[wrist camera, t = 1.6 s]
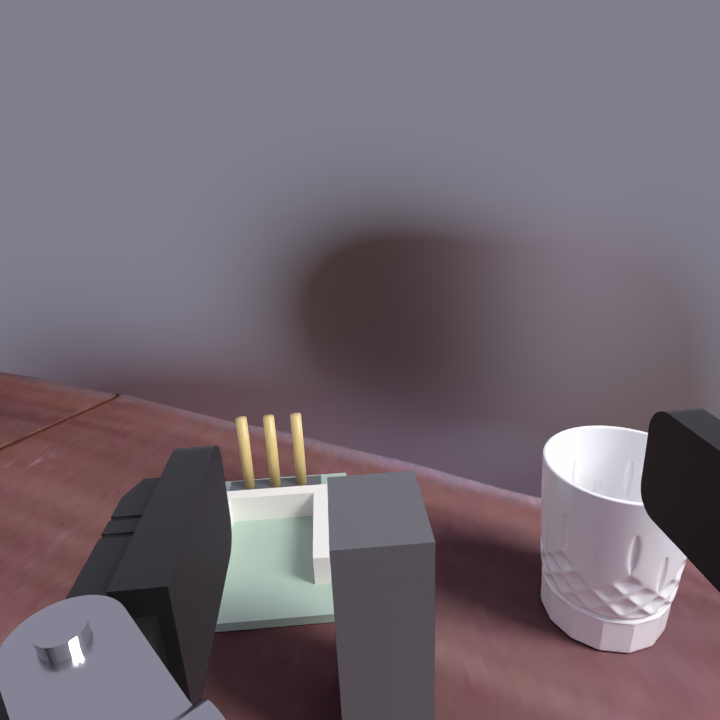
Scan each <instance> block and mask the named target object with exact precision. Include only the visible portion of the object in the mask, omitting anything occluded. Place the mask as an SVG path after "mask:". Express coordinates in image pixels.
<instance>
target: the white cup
mask: <svg viewBox="0 0 720 720" xmlns="http://www.w3.org/2000/svg"><path fill="white" fill-rule="evenodd" d="M647 437H648V433H646V432H642V431H638V430H634V429H628V428H622V427H614V426H584V427H577V428H572V429H568V430H565V431H562V432H560V433H558V434H556V435H554V436H553V437H551V438H550V439H549V440H548V441H547V442H546V444H545V446H544V449H543V469H542V495H541V540H540V547H541V553H540V555H541V559H542V581H541V601H542V603H543V605H544V607H545V609H546V611H547V613H548V615H549V617H550V619H551V620H552V621H553V622H554V623H555V624H556V625H557V626H558V627H559V628H561V629H562V630H563V631H564V632H565V633H566V634H567V635H569V636H570V637H571V638H573V639H575V640H577V641H579V642H582V643H584V644H586V645H589V646H591V647H593V648H595V649H598V650H602V651H612V652H622V653H631V652H634V651H638V650H641V649H644V648H647V647H650V646H653V644H654V643H655V642H656V640H657V639H658V638H659V636H660V635H661V634H662V632H663V631H664V629H665V626H666V622H667V618H668V615H669V611H670V607H671V603H672V601H673V599H674V597H675V594H676V592H677V589H678V586H679V583H680V578H681V574H682V571H683V569H684V566H685V563H686V560H687V557H686V556H685V555H684V554H683V553H682V552H681V551H680V549H679V548H678V547H677V546H676V545H675V544H674V543H673V542H672V541H671V540H670V539H669V538H668V537H667V536H666V535H665V533H664V532H663V531H662V530H661V529H660V528H659V527H658V526H657V525H656V524H655V523H654V522H653V521H652V520H651V518H650V517H649V515H648V514H647V512H646V510H645V508H644V505H643V502H642V498H641V479H642V472H643V465H644V458H645V451H646V444H647Z"/></svg>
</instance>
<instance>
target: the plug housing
mask: <svg viewBox="0 0 720 720" xmlns="http://www.w3.org/2000/svg"><path fill="white" fill-rule="evenodd" d="M327 487H328V524H329V554H330V567H331V580H332V593H333V607H334V620H335V633H336V646H337V659H338V672H339V685H340V699H341V712H342V720H434V663H435V539H434V536H433V533H432V529H431V526H430V522H429V519H428V516H427V512H426V509H425V506H424V502H423V499H422V495H421V492H420V489H419V485H418V482H417V478H416V475H415V472H414V471H405V472H391V473H378V474H364V475H351V476H338V477H327Z"/></svg>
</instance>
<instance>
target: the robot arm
mask: <svg viewBox="0 0 720 720" xmlns="http://www.w3.org/2000/svg"><path fill="white" fill-rule="evenodd" d="M641 498H642V502H643V505H644V508H645V510H646V512H647V514H648V515H649V517H650V518H651V520H652V521H653V522H654V523H655V524H656V525H657V526H658V527H659V528H660V529H661V530H662V531H663V532H664V533H665V535H666V536H667V537H668V538H669V539H670V540H671V541H672V542H673V543H674V544H675V545H676V546H677V547H678V548H679V549H680V551H681V552H682V553H683V554H684V555H685V556H686V557H687V558H688V559H689V560H690V561H691V562H692V563H693V564H694V565H695V567H696V568H697V569H698V570H699V571H700V572H701V573H702V574H703V575H704V576H705V577H706V578H707V579H708V580H709V581H710V583H711V584H712V585H713V586H714V587H715V588H716V589H717V590H718V591H719V592H720V420H719V419H718V418H716V417H714V416H713V415H711V414H710V413H708V412H707V411H705V410H702V409H686V410H674V411H660V412H657V413H656V414H654V416H653V417H652V419H651V421H650V424H649V430H648V437H647V444H646V451H645V458H644V465H643V472H642V479H641ZM101 535H102V538H101V539H99V540H98V542H97V543H96V545H95V547H94V549H93V551H92V552H91V554H90V556H89V558H88V560H87V561H86V563H85V565H84V567H83V569H82V570H81V572H80V574H79V576H78V578H77V579H76V581H75V583H74V585H73V587H72V588H71V590H70V592H69V594H68V596H67V597H66V599H65V600H63V601H60V602H57V603H55V604H52V605H50V606H48V607H46V608H44V609H42V610H40V611H38V612H37V613H35V614H34V615H32V616H31V617H29V618H28V619H26V620H25V621H24V622H23V623H21V624H20V625H19V626H18V627H17V628H16V629H15V630H14V631H13V632H12V633H11V634H10V635H9V636H8V637H7V639H6V640H5V641H4V642H3V644H2V646H1V647H0V720H226V719H225V718H224V717H223V715H222V714H221V713H220V711H219V710H218V709H217V708H216V707H215V706H214V704H213V703H211V702H210V701H209V700H207V699H205V698H203V699H201V698H202V693H203V688H204V684H205V679H206V674H207V669H208V664H209V659H210V654H211V649H212V644H213V639H214V634H215V629H216V624H217V620H218V615H219V610H220V605H221V600H222V595H223V590H224V585H225V580H226V575H227V570H228V565H229V560H230V555H231V546H232V528H231V518H230V511H229V504H228V497H227V490H226V484H225V477H224V470H223V463H222V457H221V452H220V449H219V447H218V446H217V445H216V446H203V447H190V448H177V449H174V450H173V452H172V454H171V456H170V458H169V460H168V462H167V465H166V467H165V469H164V471H163V473H162V475H161V477H160V478H150V479H143V480H142V481H141V482H140V483H139V484H137V485H136V486H135V487H134V488H133V489H131V490H130V491H129V492H128V493H127V494H125V495H124V496H123V497H122V498H121V500H120V502H119V504H118V506H117V507H116V509H115V511H114V513H113V515H112V516H111V521H109V522H108V524H107V525H106V527H105V529H104V531H103V533H102V534H101Z"/></svg>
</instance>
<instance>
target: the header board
mask: <svg viewBox="0 0 720 720" xmlns="http://www.w3.org/2000/svg"><path fill="white" fill-rule="evenodd" d="M290 418H291V430H292V441H293V451H294V462H295V472H296V477H282V478H280V470H279V460H278V451H277V442H276V432H275V423H274V416H273V415H265V416H264V417H263V422H264V432H265V441H266V450H267V458H268V467H269V476H270V478H268V479H255V480H254V474H253V466H252V458H251V450H250V442H249V434H248V426H247V418H246V417H244V416H243V417H237V418H236V419H235V420H236V428H237V435H238V442H239V450H240V457H241V465H242V472H243V480H241V481H227V482H225V484H226V490H227V497H228V504H229V511H230V518H231V528H232V546H231V555H230V560H229V565H228V570H227V575H226V580H225V585H224V590H223V595H222V600H221V605H220V610H219V615H218V620H217V624H216V629H215V632H223V631H235V630H247V629H258V628H270V627H281V626H293V625H304V624H316V623H328V622H335V620H334V607H333V593H332V580H331V567H330V554H329V524H328V487H327V477H338V476H346V473H337V474H323V475H309V476H306V466H305V455H304V443H303V434H302V433H303V432H302V421H301V414H300V413H292V414H291V415H290Z"/></svg>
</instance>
